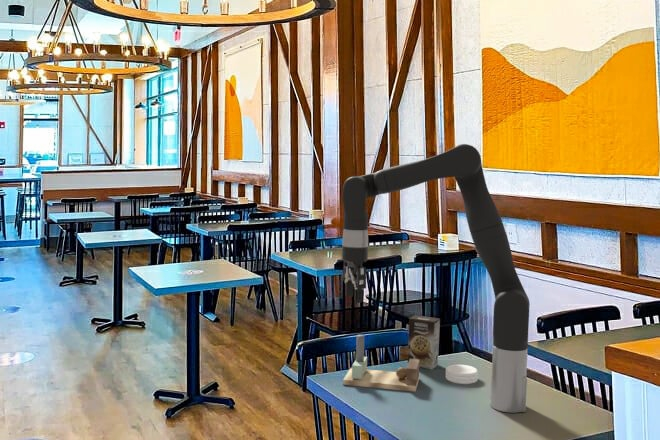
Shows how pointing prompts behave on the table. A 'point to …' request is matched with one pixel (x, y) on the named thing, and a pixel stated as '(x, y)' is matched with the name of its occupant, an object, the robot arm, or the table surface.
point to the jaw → (359, 359)
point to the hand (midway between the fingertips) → (353, 299)
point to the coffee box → (424, 340)
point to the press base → (388, 378)
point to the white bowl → (461, 374)
